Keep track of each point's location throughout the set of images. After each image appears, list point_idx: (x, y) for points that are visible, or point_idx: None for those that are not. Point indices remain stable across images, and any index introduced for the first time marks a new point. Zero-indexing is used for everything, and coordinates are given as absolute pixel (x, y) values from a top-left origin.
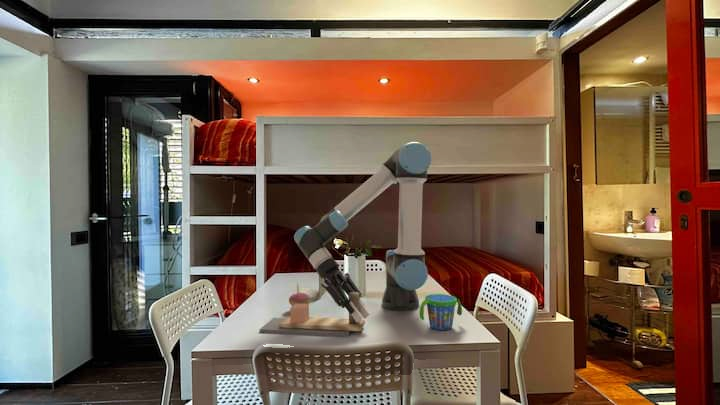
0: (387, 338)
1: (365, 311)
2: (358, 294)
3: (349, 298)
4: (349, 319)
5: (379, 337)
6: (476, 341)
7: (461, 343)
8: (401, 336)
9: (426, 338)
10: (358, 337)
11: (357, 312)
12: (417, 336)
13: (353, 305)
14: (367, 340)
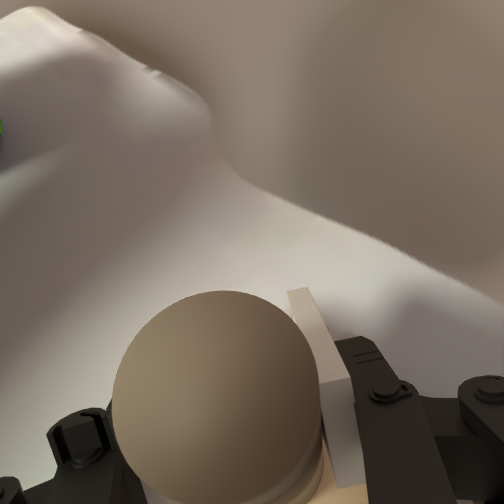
0: (237, 215)
1: None
2: (200, 298)
3: (318, 424)
4: (322, 469)
5: (256, 250)
6: (51, 23)
7: (95, 35)
8: (166, 190)
9: (121, 117)
10: (354, 335)
11: (319, 313)
12: (121, 149)
13: (323, 349)
14: (343, 263)
